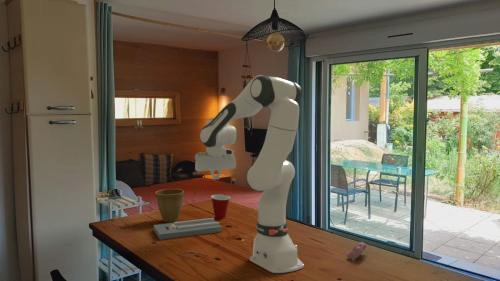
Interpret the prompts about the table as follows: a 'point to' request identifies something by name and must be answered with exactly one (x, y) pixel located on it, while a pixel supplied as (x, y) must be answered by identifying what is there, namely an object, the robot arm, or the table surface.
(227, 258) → the table surface
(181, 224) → the hole board
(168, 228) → the ball
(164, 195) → the plant pot
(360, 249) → the pink plastic figure
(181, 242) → the table surface
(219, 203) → the plastic cup
